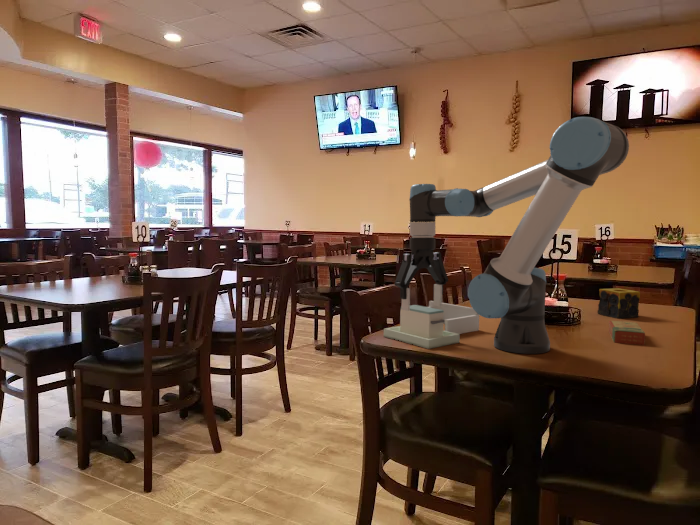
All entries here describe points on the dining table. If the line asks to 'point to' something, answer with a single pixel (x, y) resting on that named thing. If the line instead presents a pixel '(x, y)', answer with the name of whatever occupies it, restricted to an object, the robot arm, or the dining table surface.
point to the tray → (420, 341)
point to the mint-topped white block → (422, 321)
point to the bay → (457, 318)
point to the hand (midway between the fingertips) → (422, 307)
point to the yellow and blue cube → (619, 303)
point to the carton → (626, 332)
